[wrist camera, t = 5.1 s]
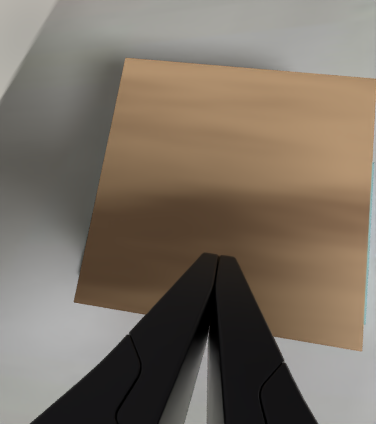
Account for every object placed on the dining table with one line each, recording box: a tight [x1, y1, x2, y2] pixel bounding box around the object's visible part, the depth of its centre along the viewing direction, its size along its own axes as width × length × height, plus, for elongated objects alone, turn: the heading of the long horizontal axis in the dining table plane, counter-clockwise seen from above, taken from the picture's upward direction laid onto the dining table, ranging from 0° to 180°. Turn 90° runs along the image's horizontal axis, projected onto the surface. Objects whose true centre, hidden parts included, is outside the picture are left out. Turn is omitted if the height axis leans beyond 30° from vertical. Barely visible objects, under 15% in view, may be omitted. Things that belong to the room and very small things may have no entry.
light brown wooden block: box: [74, 58, 376, 351], centre depth 16 cm, size 5×10×10 cm
